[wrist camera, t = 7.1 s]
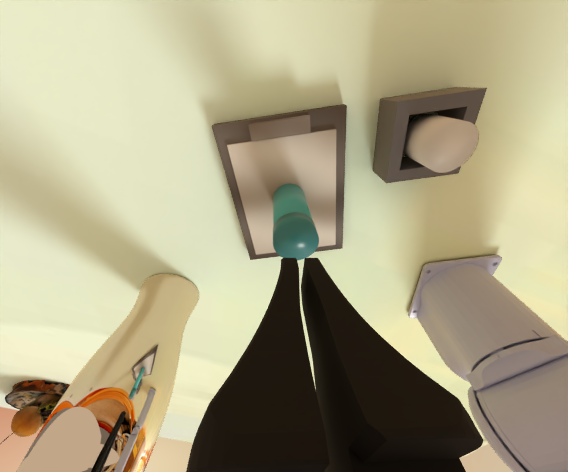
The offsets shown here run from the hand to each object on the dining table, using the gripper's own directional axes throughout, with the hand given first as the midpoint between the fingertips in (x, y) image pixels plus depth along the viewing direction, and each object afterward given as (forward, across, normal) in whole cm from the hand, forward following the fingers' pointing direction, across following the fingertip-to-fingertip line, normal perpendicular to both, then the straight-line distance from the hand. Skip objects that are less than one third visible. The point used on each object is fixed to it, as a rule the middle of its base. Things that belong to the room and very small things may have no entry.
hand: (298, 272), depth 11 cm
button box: (+9, -9, -5) cm, 14 cm away
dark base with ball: (+10, +39, +39) cm, 57 cm away
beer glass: (+10, +12, +12) cm, 20 cm away
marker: (+8, 0, 0) cm, 8 cm away
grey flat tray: (+9, 0, 0) cm, 9 cm away
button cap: (+8, -9, -5) cm, 13 cm away
